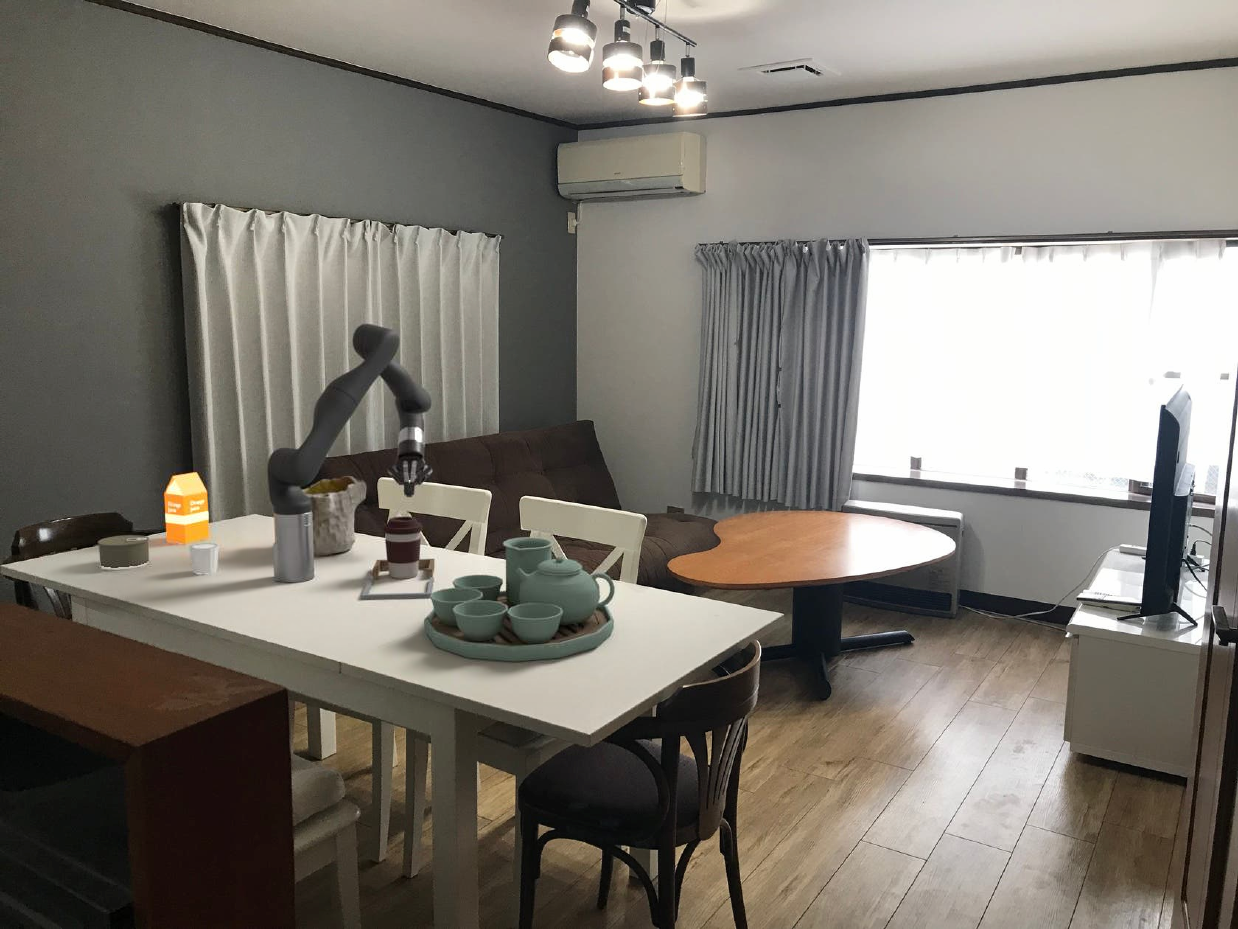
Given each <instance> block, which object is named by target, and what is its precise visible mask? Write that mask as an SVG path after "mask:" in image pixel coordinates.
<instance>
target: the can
mask: <svg viewBox="0 0 1238 929" xmlns="http://www.w3.org/2000/svg"><path fill="white" fill-rule="evenodd" d="M149 540H150V538H149V536H146V535H140V534H126V535H124V534H123V535H115V536H111V537H110V536H108V537H105V538H102V539H99V540H98V541H97V545H98V550H99V551H98V552H99V563H100V565H101V566H104V567H111V568H118V567H129V566H138V565H141V564H144V563H147V562H148V561H149V562H150V551H149V548H150V547H149Z"/></svg>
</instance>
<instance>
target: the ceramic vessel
mask: <svg viewBox="0 0 1238 929" xmlns="http://www.w3.org/2000/svg"><path fill="white" fill-rule="evenodd" d="M301 490H302V492H303V493H304V494H305V495H306V496H307V497H308V498H309V499H310V500H311V502H312V520H313V549H314V557H319V556H321V557H322V556H327V555H333V554H337V553H342V552H346V551H348V550H350V549H352V548H353V546H354V543H355V542H356V535H355V511H356V509H357V507H358V506H359V505H360V504H361V503H362V502H363V501H364V500H366V498H367V497H366V495H367V484H366V482H365V480H363V479H362V478H361V479H360V478H354V476H351V475H344V476H342V477H340V478H332V479H329V478H328V479H327V478H324V479H321V480H319V481H317V482H316V483H313V484H311V485H310V486H309V487H306V488H304V489H301Z"/></svg>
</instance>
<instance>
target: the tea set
mask: <svg viewBox="0 0 1238 929" xmlns="http://www.w3.org/2000/svg"><path fill="white" fill-rule="evenodd" d="M502 544H503V546H504V547H505V589H504V590H501V587H502V586H503V584H504V580H503V578H502V577H501V578H500V577H499V576H496V575H489V574H471V575H463V576H460V577H457V578H454V580H453V581H452V584H453V585H452V586H453V587H449V588H443V589H439V590H435V591H432V594H431V595H430V598H429V599H430V600H431V602H432V603H431V604H432V606H433V610H432V611H431V612H429V613H428V615H427V616H426V617H425V618H424V619H423V622H424V624H423V625H424V626H423V627H424V630H425V632H426V635H428V636H429V639H430V640H431V641H432V643H433V644H434V646H435V647H436V648H438V649H441V650H444V651H447V652H451V653H454V654H456V655H459V656H463V657H464V658H468V659H477V660H478V659H479V660H492V661H500V662H501V661H502V662H511V663H512V662H513V663H515V662H527V661H539V660H550V659H551V660H552V659H561V658H565V657H568V656H571V655H574V654H578V653H582V652H584V651H588V650H591V649H595V648H597V647H599V645H601V643H602V642H604V641H605V640H606V639H607V638H608V637H610V635H611V634H612V633H613V631H614V629H615V620H614V618H613V616H612V614H611V612H610V610H609V607H608V606H607V605H608V604H609V603H610V602H611V601H612V600H613V598H614V595H615V584H614V582H613V580H612V578H611V577H610V575H608V574H606V573H605V572H596V573H592V574H589V573H588V572H587V571H585V570H583V569H582V568H583V566H582V564H581V563H579V562H578V561H576V560H573V559H569V558H567V559H566V558H564V557H562V556H557V557H556V558H552V546H553V545H554V544H555V542H554V541H552V540H551V539H549V538H544V537H532V536H528V537H527V536H526V537H525V536H524V537H515V538H509V539H507V540H505V541H503V542H502ZM598 578H600V579H604V580H605V581H606V582H607V583H608V585H609V594H608V595H607V597H606V598H605V599H604V600H602V601H601V602H600V599H601V591H600V590H601V589H600V585H599V583H598V581H597V579H598Z"/></svg>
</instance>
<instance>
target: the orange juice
mask: <svg viewBox="0 0 1238 929" xmlns="http://www.w3.org/2000/svg"><path fill="white" fill-rule="evenodd" d="M163 494H164V508H165V509H164V511H165V512H164V514H165V516H164V517H165V530H166V542H167V541H172V542H178V543H184V544H186V543H189V542H193V541H198V540H201V539H205V538H209V539H210V524H209V504H208V491H207V489H206V487H205V485H204V483H203V481H202V479H201V478H200V476H199V474H198V473H197V471H196V472H189V473H183V474H177V475H172V477H171V479H170V482H169V484H168V485H167V487H166V490H165V491H164V493H163Z"/></svg>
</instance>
